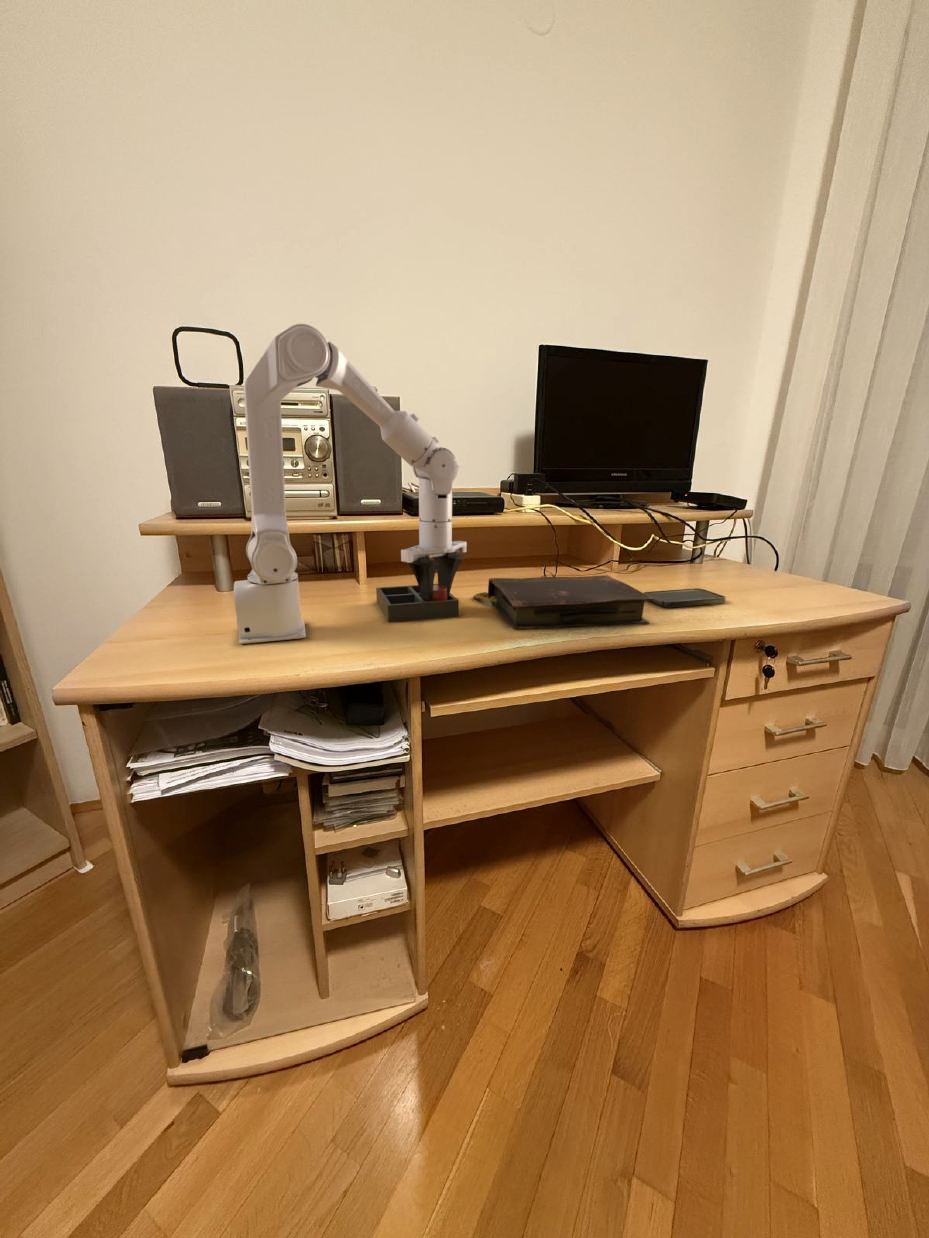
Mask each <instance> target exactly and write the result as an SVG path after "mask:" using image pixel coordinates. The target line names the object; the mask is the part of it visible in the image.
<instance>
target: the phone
mask: <svg viewBox="0 0 929 1238" xmlns="http://www.w3.org/2000/svg"><path fill="white" fill-rule="evenodd" d="M643 593H644V594H646V595H647V596H649V597H651V598H653V600H650V601H649V602H651V603H653V604H655V605H657V606H660V607H663V608H681V607H693V606H705V605H717V604H725V603H726V599H727V596H725V595H722V594H719V593H716V592H713V591H710V590H707V589H704V588H697V587H696V588H681V589H667V590H652V591H643Z"/></svg>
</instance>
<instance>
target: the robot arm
mask: <svg viewBox="0 0 929 1238" xmlns="http://www.w3.org/2000/svg"><path fill="white" fill-rule="evenodd" d="M314 378H316V379H317V380H316V383H315V387H318V388H324V389H327V390H328V389H329V390H335V391H338V392H339V393H341V395H343V396H344V397H345V398H346V399H347V400H349V401H350V402H351V403H352V404H353V405H354V406H356V407H357V408H358V409H359V410H360V411H361V412H363V413H364V414H365V415H366V416H367V417H368V418H369V419H371V420H372V421H373V422H374V423H375V424H376V425H377V426H379V428H380V434H381V439H382V441H383V442H384V443H385V444H386V445H388V447H390V448H391V449H392V450H393V451H394V452H395V453H396V454H397V455H398V456H399V457H400V458H402V460H404V462H406V463H407V464H408V465H409V466H410V467H412V472H413V474H414V476H415V477H416V478H417V479H418V527H419V528H418V540H419V541H418V545H417V544H416V545H414V546H411V547H408V548H405V549H401V550H400V561H401V562H403V563H407V564H408V566H409V568H410V569H411V571H412V573H413V575H414V578H415V580H416V582H417V585H418V586H419V589H420V593H421V597H422V598H424V599H428V600H431V599H432V597H433V584H435V583H434V582H435V576H436V575H437V584H438V585H442V586H446V587H447V595H449V594H450V593H451V591H452V590H451V589H452V586H453V582H454V579H455V576H456V573H457V571H458V569H459V567H460V565H461V564H462V562H463V556H462V555H459V554H458V553H461V554H464V553H467V550H468V549H467V548H468V547H467V546H468V545H467V544H468V543H467V541H463V540H454V541H453V483H454V481H455V480H456V478H457V477H458V474H459V472H460V465H459V464H458V463H457V460H456V456H455V454H454V453H453V452H452V451H451V450H450V449H448V448H446V447H443V446H442V447H441V446H439V443H440V440H439V439H438V438H437V437H436V436H431V435H430V434H429V432H427V430H425V428H423V427H422V425H420V424H419V423H418V421H419V420H420V418H419V417H418V416H417V415H416V414H415V413H408V412H407V411H406V410H394V408H392V406H391V405H390V404H389V403H388V402H387V401H386V400H385V399H384V398H383V397H382V396H381V394H380V393H379V392H378V391H377V390H376V389H375V388H374V387H373V386H372V385H371V384H370V382H368V381H367V379H366V378H365V377H364V376H363V375H362V374H361V373H360V372H359V371H358V370H357V369H356V367H355V366H354V365H353V364H352V363H351V362H350V361H349V360H348V359H347V357H346V356H345V355H344V354H343V352H342V351H341V350H340V349H339V347H337V346H336V345H335V344H334V343H332V342H331V341H327V339H326V338H325V336H324V334H322V332H321V331H319V330H318V329H317V328H316V327H314V326H312V325H310V324H306V323H296V324H293V325H290V326H289V327H287V328H286V329H284V330H283V331H281V332H280V333H278V334H277V335H276V336H274V337H273V339H272V340H271V341H270V343H269V344H268V346H267V348H266V349H265V351H264V352H263V353H262V355H261V356H260V357H259V359H258V361H257V362H256V364H255V365H254V367H252V369H251V371H250V372H249V374H248V375H247V377H246V378H245V380H244V382H243V401H244V415H245V429H246V447H247V460H248V461H247V462H248V476H249V493H250V507H251V520H250V530H251V532H250V536H249V539H248V541H247V544H246V547H245V553H246V557H247V560H248V562H250V566H251V568H252V569H251V570H250V572H249V573H248V574H247V579H245V580H236V581H234V582H233V600H234V601H233V602H234V608H235V617H236V619H235V621H236V627H237V629H238V630H237V631H238V639H239V644H241V645H242V644H243V645H245V644H253V643H255V644H256V643H265V642H275V641H276V642H277V641H286V640H287V641H288V640H297V639H305V638H306V637H307V632H306V623H305V622H306V621H305V620H303V618H302V607H301V596H300V586H299V577H298V576H299V574H298V573H297V572H295V571H296V569H297V566H298V557H297V553H296V551H295V549H294V548H293V546H292V544H291V541H290V530H289V525H288V520H287V511H286V490H285V489H286V486H285V472H284V471H285V468H284V465H285V464H284V445H283V443H284V442H283V423H282V401H283V400H284V399H285V398H286V397H287V396H288V395H289V394H291V392H292V391H294V390H295V389H296V388H298V387H301V386H303V385H306V384H308V383H310V382H311V381H313V379H314ZM431 558H433V560H434V561H432V559H431Z"/></svg>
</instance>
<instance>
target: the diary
mask: <svg viewBox="0 0 929 1238" xmlns="http://www.w3.org/2000/svg"><path fill="white" fill-rule="evenodd" d="M487 583H488V584H487V585H488V586H487V593H488V598H489V599H490V598H491V596H495V598H496V599H497V602H492V601H491V603H492V605H493V606H494V607H493V606H492V607H493V608H494V609H495V610H496V611H497V613H498V614H499V615H500V617H501V618H502V620H503V621H505V623H507V625H508V626H509V627H510V628H513V629H556V628H569V627H579V626H580V627H581V626H584V627H614V626H635V625H636V626H637V625H649V624H650V622H649V621H648V620H647V619H645V618H644V617H643V614H644V608H645V603H646V602H647V601H648V602H650V600H653V598H651V597H649V596H647V595H646V594H644V592H643V591H641V590H638V589H637V588H635V587H633V586H631V585H629V584H628V583H625V582H623V581H621V580H619V579H616V578H613V577H612V576H610V575H604V574H603V575H587V576H586V575H585V576H538V577H522V578H519V577H517V578H515V577H511V578H510V577H490V578H488V582H487Z"/></svg>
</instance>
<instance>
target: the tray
mask: <svg viewBox="0 0 929 1238" xmlns="http://www.w3.org/2000/svg"><path fill="white" fill-rule="evenodd" d="M433 585H438V583H433ZM375 590H376V591H375V593H376V603H377V605H378V607H379V608H380V610H381V612H382V614H383V615H384V617H385V619H386V620H387V622H388V623H396V622H408V621H419V620H429V619H443V618H454V617H459V616H460V615H459V611H460V610H459V608H460V605H459V604H460V603H459V602H460V600H459V599H458V598H457V597H456V596H454V594H452V593H451V592H450V594H449V595H447V600H441V601H428V602H425V599H424V598H422V597H421V593H420V589H419V586H418V584H414V585H413V584H412V585H411V584H410V585H395V586H383V587H375Z"/></svg>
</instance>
